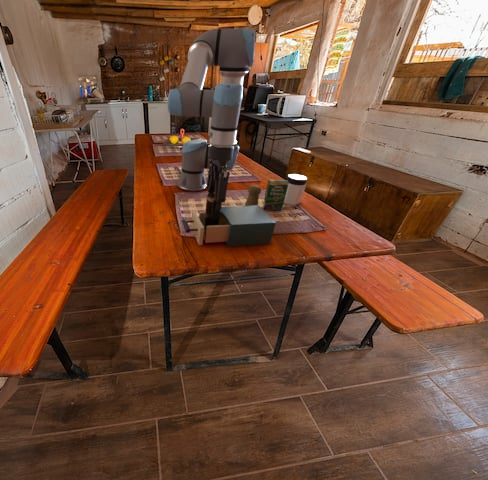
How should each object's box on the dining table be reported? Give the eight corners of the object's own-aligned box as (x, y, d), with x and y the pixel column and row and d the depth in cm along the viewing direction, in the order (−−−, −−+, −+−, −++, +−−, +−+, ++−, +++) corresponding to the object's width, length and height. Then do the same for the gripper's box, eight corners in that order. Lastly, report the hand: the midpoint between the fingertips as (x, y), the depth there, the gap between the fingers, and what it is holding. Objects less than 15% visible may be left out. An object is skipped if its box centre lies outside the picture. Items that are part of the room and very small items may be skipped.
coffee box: (262, 209, 113) (269, 181, 106) (261, 206, 116) (268, 178, 109) (281, 211, 112) (289, 182, 105) (280, 208, 115) (288, 180, 108)
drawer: (186, 246, 86) (187, 228, 83) (180, 227, 96) (181, 211, 93) (239, 242, 89) (242, 225, 85) (227, 225, 99) (230, 209, 95)
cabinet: (227, 246, 88) (231, 224, 83) (216, 227, 99) (218, 206, 95) (270, 243, 90) (276, 222, 85) (253, 225, 101) (258, 205, 97)
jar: (292, 206, 117) (300, 181, 110) (277, 200, 122) (283, 176, 116) (303, 202, 121) (311, 177, 114) (288, 196, 127) (295, 172, 120)
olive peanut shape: (255, 214, 109) (260, 190, 103) (241, 210, 112) (246, 186, 106) (259, 209, 114) (264, 185, 108) (245, 205, 116) (250, 182, 110)
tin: (201, 225, 93) (205, 193, 87) (215, 224, 94) (220, 192, 87) (205, 232, 89) (209, 200, 82) (220, 232, 90) (225, 199, 83)
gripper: (201, 138, 83) (196, 203, 95) (218, 153, 68) (209, 228, 80) (223, 138, 84) (215, 202, 96) (245, 152, 69) (232, 227, 81)
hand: (212, 214), depth 88 cm, fingers closed on tin, 5 cm apart
